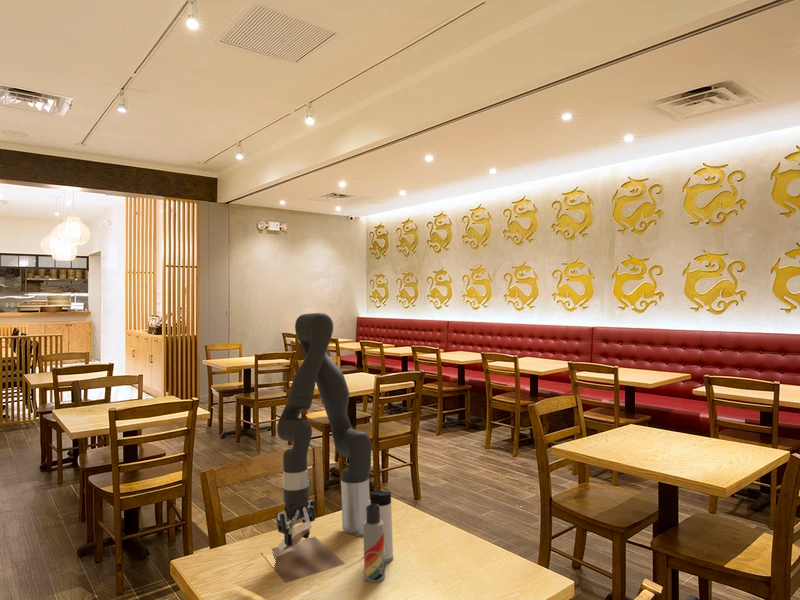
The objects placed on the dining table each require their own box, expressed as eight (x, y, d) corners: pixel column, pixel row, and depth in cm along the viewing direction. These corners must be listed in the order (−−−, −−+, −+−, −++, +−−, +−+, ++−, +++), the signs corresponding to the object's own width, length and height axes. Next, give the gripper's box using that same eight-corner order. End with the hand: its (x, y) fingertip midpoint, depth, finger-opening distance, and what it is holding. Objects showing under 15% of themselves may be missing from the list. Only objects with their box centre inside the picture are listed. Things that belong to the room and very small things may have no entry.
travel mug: (367, 561, 157) (365, 493, 157) (378, 552, 163) (376, 486, 163) (386, 566, 154) (383, 496, 154) (396, 556, 160) (394, 488, 160)
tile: (277, 545, 161) (292, 527, 156) (293, 538, 165) (308, 520, 161) (281, 551, 160) (296, 533, 155) (296, 544, 165) (311, 526, 160)
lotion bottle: (376, 585, 144) (374, 510, 144) (360, 578, 147) (358, 505, 148) (389, 576, 148) (387, 503, 149) (373, 570, 152) (371, 499, 152)
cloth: (314, 539, 173) (314, 536, 173) (345, 567, 154) (345, 563, 154) (259, 555, 163) (259, 551, 163) (285, 586, 145) (285, 582, 145)
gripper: (285, 494, 152) (286, 554, 152) (322, 480, 163) (323, 535, 163) (268, 489, 156) (269, 547, 156) (305, 476, 168) (306, 530, 168)
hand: (297, 541), depth 160 cm, fingers closed on tile, 6 cm apart
